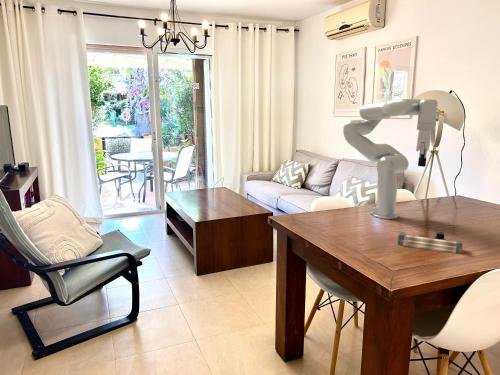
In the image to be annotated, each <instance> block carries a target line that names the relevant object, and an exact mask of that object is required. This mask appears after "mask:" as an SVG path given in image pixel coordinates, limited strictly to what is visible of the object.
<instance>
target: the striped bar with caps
mask: <svg viewBox="0 0 500 375" xmlns="http://www.w3.org/2000/svg"><path fill="white" fill-rule="evenodd" d="M432 238H433V237H431V238H430V237H422V236H415V235H408V234H406V232H405V231H399V233H398V237H397V245H401V246H403V247H411V248H417V249H425V250H430V251H431V250H432V251H438V252H444V253H445V252H446V253H449V254H450V253H451V254H452V253H453V254H462V253H463V244H464V243H463V239H459V238H456V241H452V240H446V239H445V240H439V239H432Z"/></svg>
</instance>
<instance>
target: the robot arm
mask: <svg viewBox="0 0 500 375" xmlns="http://www.w3.org/2000/svg"><path fill="white" fill-rule="evenodd" d="M438 103H439V102H438V100H437V99H430V98H429V99H427V98H426V99H420V98H419V99H418V98H401V99H392V100H386V101H379V102H372V103H366V104H364V105H362V106H361V107H360V109H359V116H360V117H361V119H352V120H349V121H347V122H345V124H344V126H343V129H342V132H343V136H344V137H343V138H344V139H345V141H346V142H347V143H348V144H349V146H351V147H352V148H354V149H355V150H356V151H357V152H358V153H360V154H361V155H362V156H363V157H365V158H366V159H367V160H368V161H369V162H371V163H376V172H377V192H376V193H377V194H376V206H370V205H369V206H368V207H367V210H368V211H370V212H372V216H373V217H375V218H379V219H385V220H387V219H388V220H392V219H398V218H399V213H397V211H396V209H397V208H396V207H397V197H398V196H397V193H398V179H397V175H396V174H401V173H404V172H406V170H407V169H408V168H409V160H408V158H407V157H406V156H405V155H404V154H403V153H401V152H400V151H399V150H397V149H396V148H395V147H393V146H392V145H390V144H387V143H375V142H373V141H372V140H371V139H369V137H367V135H369V134H371V133H372V132H373V131H374V130H375V129H376V127H377V126H378V125H379V124H380V123H381V121H383V120H385V119H390V118H391V117H399V116H417V125H416V130H417V131H418V134H417V135H418V136H417V143H416V147H415V148H416V149H415V150H416V152H419V154H418V155H419V156H418V163H417V166H418V167H424V168H425V167H426V165H427V153H428V152H429V150H430V146H431V141H432V140H431V139H432V131H435V130H436V120H437V112H438V105H439V104H438Z"/></svg>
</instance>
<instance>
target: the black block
mask: <svg viewBox="0 0 500 375" xmlns="http://www.w3.org/2000/svg"><path fill="white" fill-rule="evenodd" d="M444 232H445V231H441V230H436V231H435V234H434V235H435V236H434V237H431V238H432V239H439V240H446V238H445V233H444Z"/></svg>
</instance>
